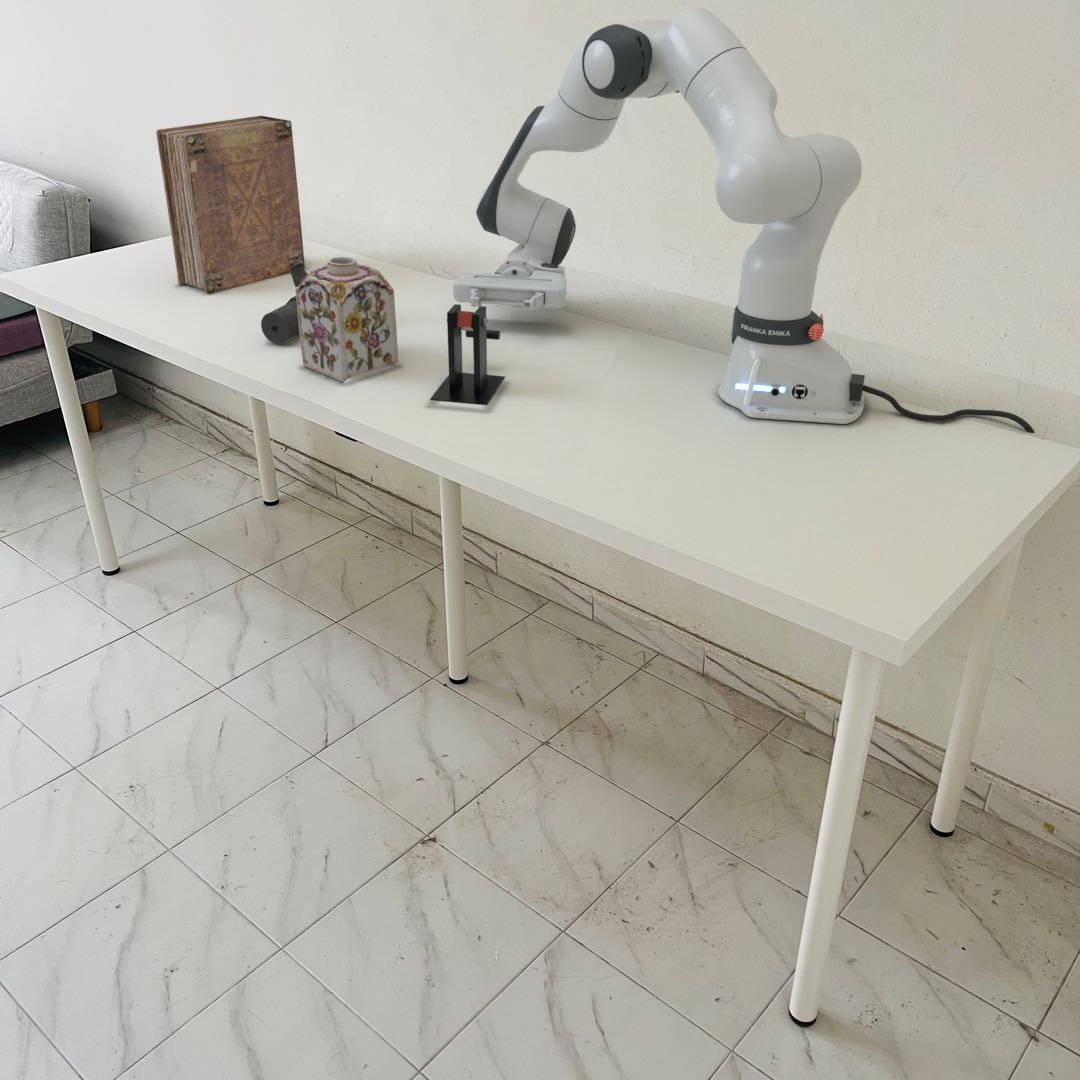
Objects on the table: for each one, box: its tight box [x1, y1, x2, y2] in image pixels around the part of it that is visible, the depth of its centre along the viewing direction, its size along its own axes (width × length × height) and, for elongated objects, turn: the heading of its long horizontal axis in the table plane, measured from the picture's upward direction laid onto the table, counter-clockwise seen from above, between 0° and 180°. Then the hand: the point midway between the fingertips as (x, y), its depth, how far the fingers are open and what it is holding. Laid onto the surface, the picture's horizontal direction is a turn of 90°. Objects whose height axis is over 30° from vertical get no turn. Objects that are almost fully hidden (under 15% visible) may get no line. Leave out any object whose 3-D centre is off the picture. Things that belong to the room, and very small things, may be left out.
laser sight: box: [260, 262, 308, 345], centre depth 198 cm, size 10×22×10 cm, turn 158°
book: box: [155, 115, 306, 295], centre depth 220 cm, size 25×9×30 cm, turn 140°
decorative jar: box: [295, 256, 399, 383], centre depth 178 cm, size 12×12×18 cm
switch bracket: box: [429, 303, 506, 406], centre depth 169 cm, size 12×9×14 cm
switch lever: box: [457, 310, 501, 341], centre depth 172 cm, size 13×6×2 cm
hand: (501, 304), depth 188 cm, fingers open, 8 cm apart
